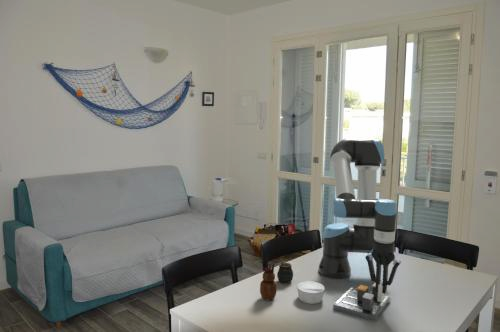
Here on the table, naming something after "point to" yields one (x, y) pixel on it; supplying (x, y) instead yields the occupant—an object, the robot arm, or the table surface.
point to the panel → (359, 305)
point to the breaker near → (367, 301)
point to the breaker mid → (361, 292)
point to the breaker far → (374, 291)
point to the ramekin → (310, 292)
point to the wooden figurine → (268, 284)
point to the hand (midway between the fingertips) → (380, 300)
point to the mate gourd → (285, 272)
